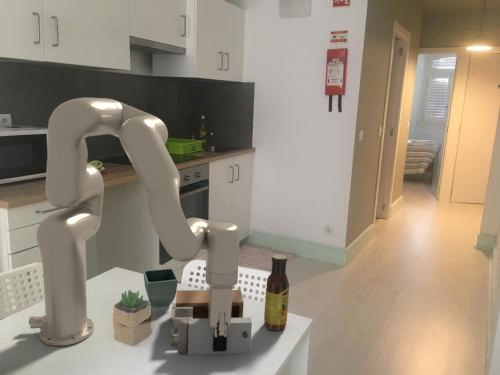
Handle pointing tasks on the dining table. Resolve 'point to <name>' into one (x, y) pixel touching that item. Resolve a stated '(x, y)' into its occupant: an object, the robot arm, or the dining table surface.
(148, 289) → the flower pot
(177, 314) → the hinge clips
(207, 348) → the door
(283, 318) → the sauce bottle
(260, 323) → the dining table surface
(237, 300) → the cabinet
